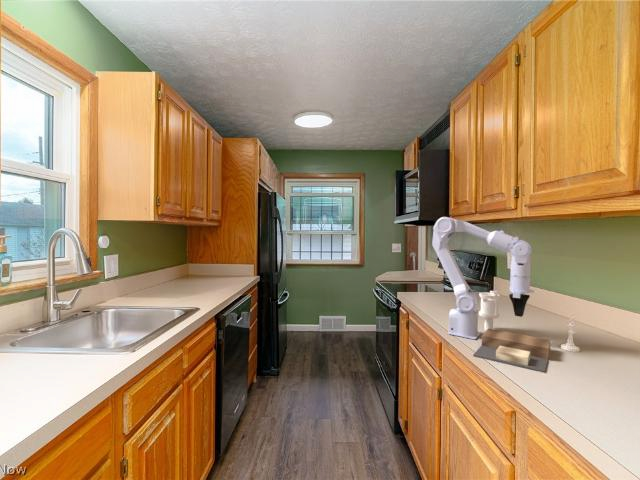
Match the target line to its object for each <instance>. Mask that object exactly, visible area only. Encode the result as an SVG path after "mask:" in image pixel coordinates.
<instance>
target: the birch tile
mask: <svg viewBox="0 0 640 480" xmlns="http://www.w3.org/2000/svg"><path fill="white" fill-rule="evenodd" d="M496 359H501V360H505V361H509V362H514V363H518V364H523V365H527V366H528V363H529V360H530V352H529V351H524V350H519V349H514V348H510V347H505V346H499V347H498V349H497V350H496Z"/></svg>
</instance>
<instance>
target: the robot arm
mask: <svg viewBox="0 0 640 480" xmlns="http://www.w3.org/2000/svg"><path fill="white" fill-rule="evenodd" d="M432 229H433V235H432V241H431V242H432V243H431V245H432V248H433V249H434V251H435V253H436V256H437V258H438V259H439V262H440V263H441V266H442V268H443V270H444V273H445V274H446V276H447V278H448V280H449V282H450V285H451V287H452V289H453V292H454V293H453V294H454V296H455V299H456V301H455V303H456V304H455V305H456V308H451V309H450V310H449V315H448V331H447V334H448V335H450V336H451V335H452V336H456V337H462V338H466V339H471V340H477V339H478V337H480V335H481V332H478V329H479V328H478V327H479V326H478V325H479V324H478V323H479V321H478V320H479V310H478V309H477V307H476V306H477V304H478V302H479V297H478V294H476V293H475V292H474V291H473V290H472V289H471V287H470V285H469V284H468V283H467V282H466V279H465V278H464V275H463V273H462V271H461V270H460V267H459V266H458V263H457V262H456V259H455V257H454V255H453V253H452V251H451V249H450V247H449V245H448V244H449V241H450V239H451V236H453V235H454V233H460V232H461V233H466V234H469V235H472V236H475V237H477V238H480V239H481V240H482V239H483V240H485V241H486V242H487V244H488V246H489V247H491V248H492V247H493V249H498V250H500V251H502V252H505V253H507V254H508V253H511V262H510V276H509V277H510V278H509V280H510V281H509V282H510V283H509V289H508V291H509V292H511V293H509V295H508V296H509V299H510V301H511V304H512V308H513V314H514V316H515V317H520V318H522V317H523V316H524V312H525V309H526V305H527V302H528V301H529V299H530V294H529V293H532V294H533V293H535V290H534V289H531V287H530V286H531V266H532V265H531V254H532V247H531V245H530V243H528V241H525V240H524V239H519V236H515V237H514V236H512V235H509V234H507V233H505V231H504V230H502V229H500V231H499V230H493V231H488V230H486V229H484V228H482V227H479V226H477V225H474V224H473V223H470V222H468V221H466V220H465V221H464V220H459V219H456V218H455V219H454V218H453V217H448V216H442V217H440V218H438V219H437V220H436V221H435V223H434V225H433V228H432Z"/></svg>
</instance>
